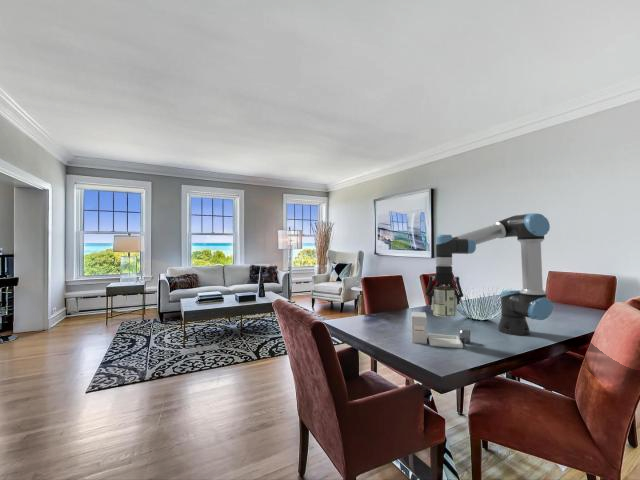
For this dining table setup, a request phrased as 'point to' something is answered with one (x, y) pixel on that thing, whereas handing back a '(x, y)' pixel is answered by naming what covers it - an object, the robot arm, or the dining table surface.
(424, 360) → the dining table surface
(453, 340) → the tray
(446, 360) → the dining table surface
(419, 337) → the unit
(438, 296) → the coffee can
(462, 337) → the cartridge
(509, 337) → the dining table surface
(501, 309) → the robot arm
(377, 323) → the dining table surface
